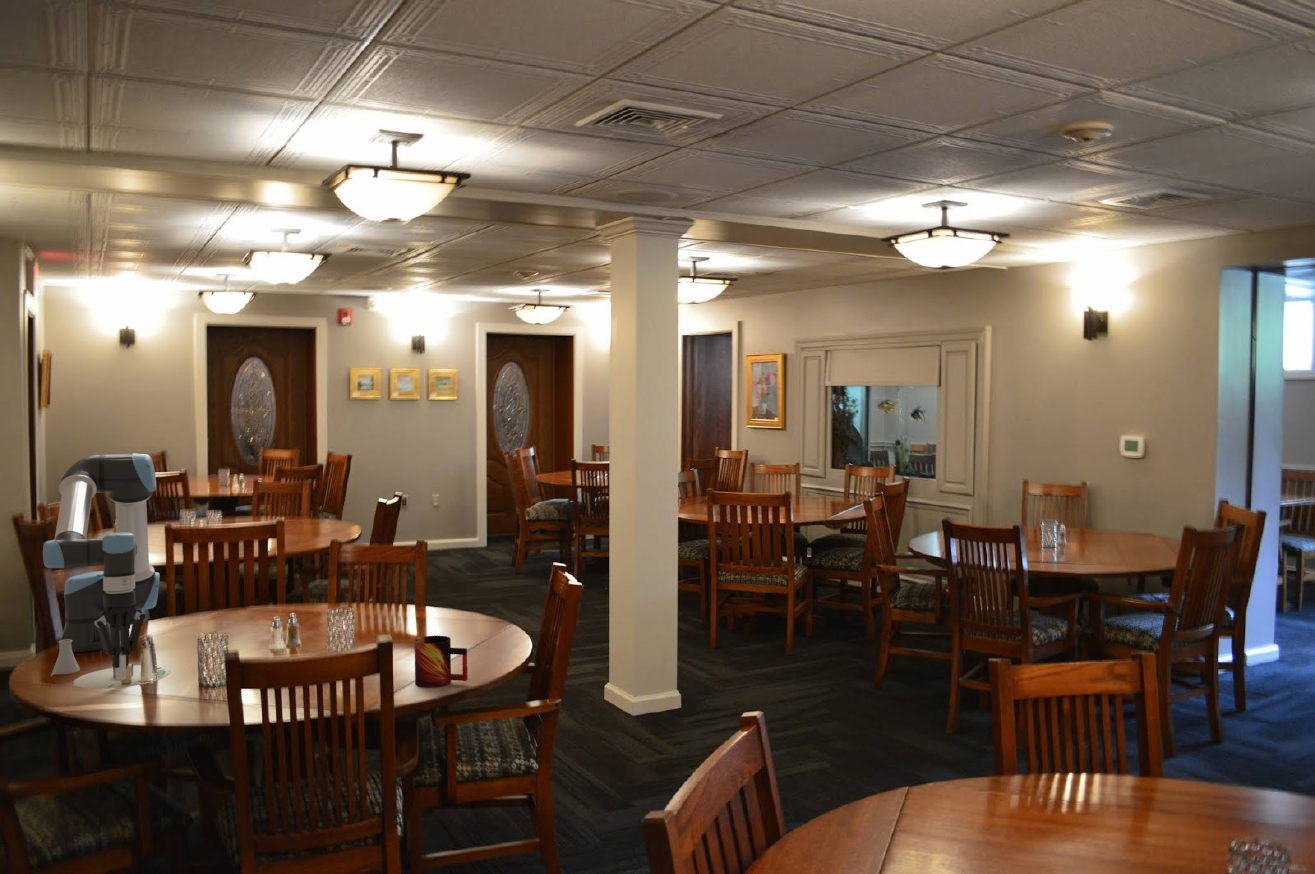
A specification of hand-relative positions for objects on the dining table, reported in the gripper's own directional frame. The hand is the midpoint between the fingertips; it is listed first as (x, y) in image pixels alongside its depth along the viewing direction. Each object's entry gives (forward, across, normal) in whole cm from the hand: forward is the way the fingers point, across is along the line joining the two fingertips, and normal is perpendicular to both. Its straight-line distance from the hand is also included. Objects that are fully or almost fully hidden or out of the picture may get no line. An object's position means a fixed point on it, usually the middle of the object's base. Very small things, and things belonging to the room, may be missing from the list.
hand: (120, 678), depth 268 cm
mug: (+4, +55, -64) cm, 84 cm away
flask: (+3, -1, +29) cm, 29 cm away
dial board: (+3, +6, +10) cm, 12 cm away
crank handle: (+2, +4, +6) cm, 7 cm away
